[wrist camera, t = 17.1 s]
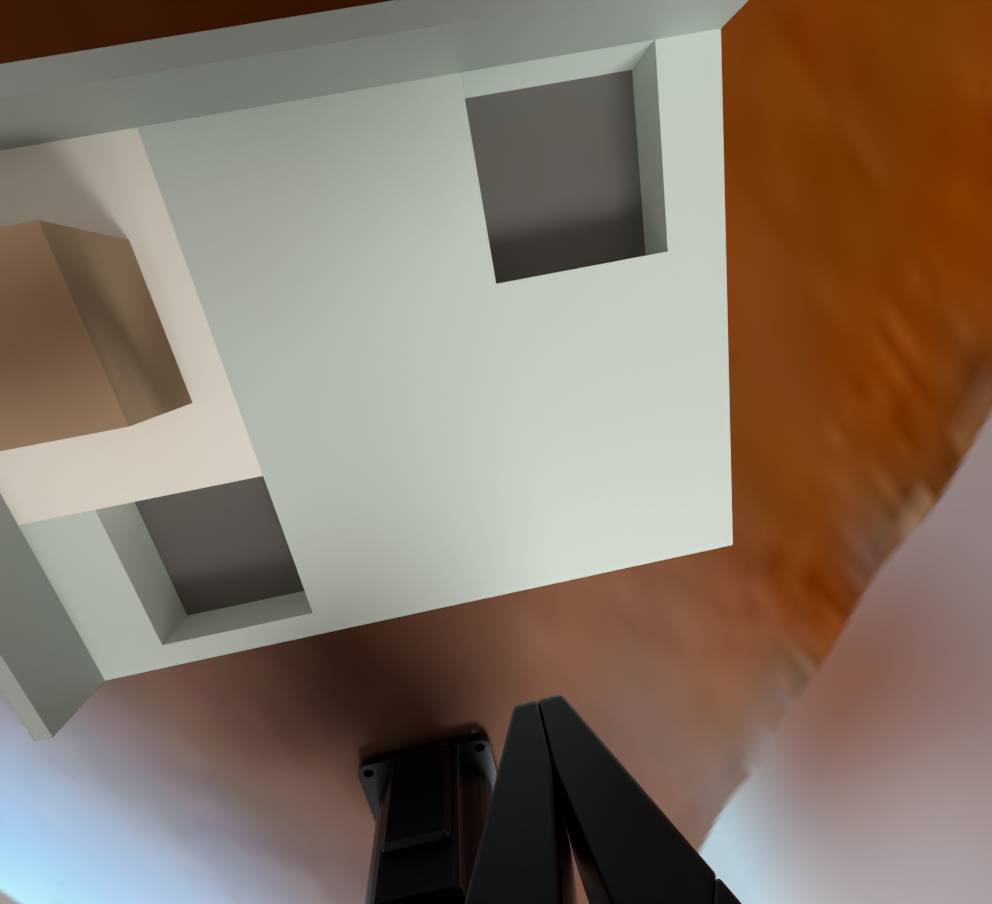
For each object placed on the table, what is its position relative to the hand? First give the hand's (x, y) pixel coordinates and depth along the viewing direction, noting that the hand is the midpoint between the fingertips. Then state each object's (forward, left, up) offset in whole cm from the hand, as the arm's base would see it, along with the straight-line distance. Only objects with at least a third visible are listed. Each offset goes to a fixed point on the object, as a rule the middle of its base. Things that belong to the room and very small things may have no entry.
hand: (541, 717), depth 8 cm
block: (+8, +11, -10) cm, 17 cm away
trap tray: (+5, +4, -12) cm, 13 cm away
